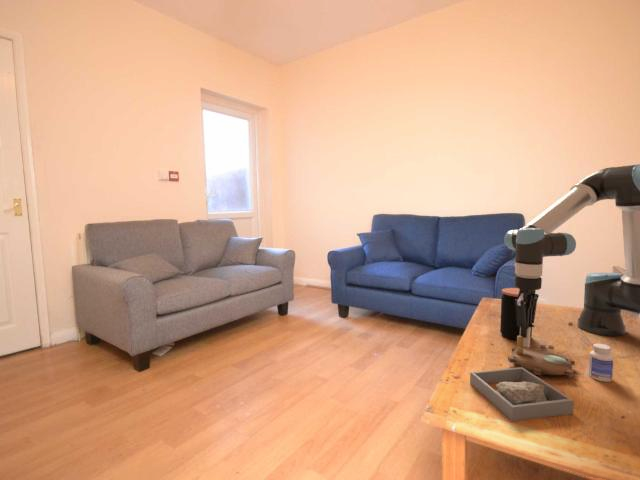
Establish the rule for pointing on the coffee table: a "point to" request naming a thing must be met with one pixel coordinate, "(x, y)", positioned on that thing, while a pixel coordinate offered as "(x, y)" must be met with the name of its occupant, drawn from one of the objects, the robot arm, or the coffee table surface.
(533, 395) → the decorative stone
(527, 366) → the turntable
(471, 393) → the coffee table surface
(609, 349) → the pill bottle
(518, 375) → the stone tray
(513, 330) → the coffee jar
